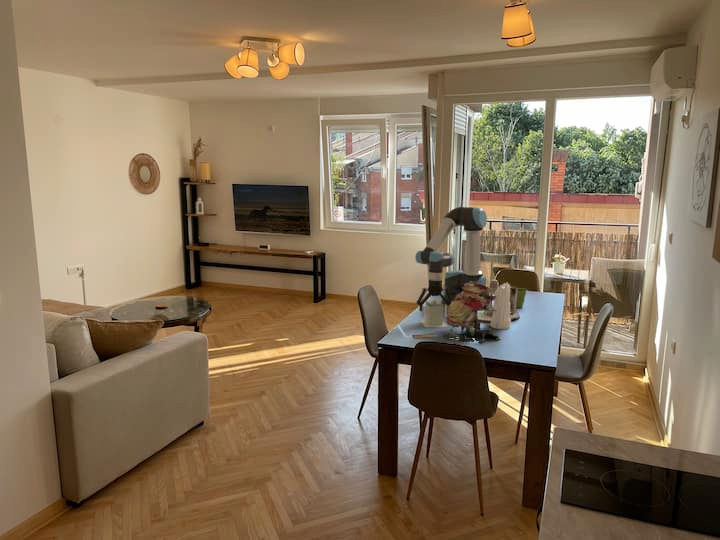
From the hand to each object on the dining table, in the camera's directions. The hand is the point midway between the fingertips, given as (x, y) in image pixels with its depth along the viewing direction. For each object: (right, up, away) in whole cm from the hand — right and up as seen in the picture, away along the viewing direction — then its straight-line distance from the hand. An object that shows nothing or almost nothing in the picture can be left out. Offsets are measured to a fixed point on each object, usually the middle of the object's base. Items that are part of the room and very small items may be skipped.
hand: (433, 316), depth 297 cm
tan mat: (-9, -8, -15) cm, 19 cm away
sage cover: (0, -4, +1) cm, 4 cm away
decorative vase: (+38, -6, 0) cm, 38 cm away
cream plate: (0, -5, +1) cm, 5 cm away
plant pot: (+60, +2, +45) cm, 75 cm away
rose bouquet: (+15, -9, -20) cm, 26 cm away
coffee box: (+51, 0, +31) cm, 60 cm away
